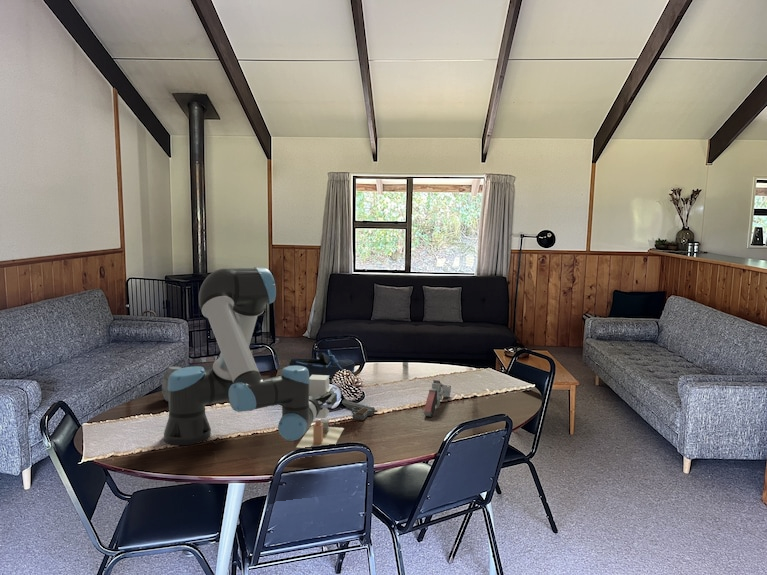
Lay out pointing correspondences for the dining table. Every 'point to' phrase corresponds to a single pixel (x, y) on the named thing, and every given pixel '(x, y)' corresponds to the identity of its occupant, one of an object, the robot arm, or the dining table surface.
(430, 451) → the dining table surface
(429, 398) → the revolver
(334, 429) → the board
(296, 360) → the moccasin
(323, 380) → the tall cream block
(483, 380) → the dining table surface
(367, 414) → the handgun
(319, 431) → the post
